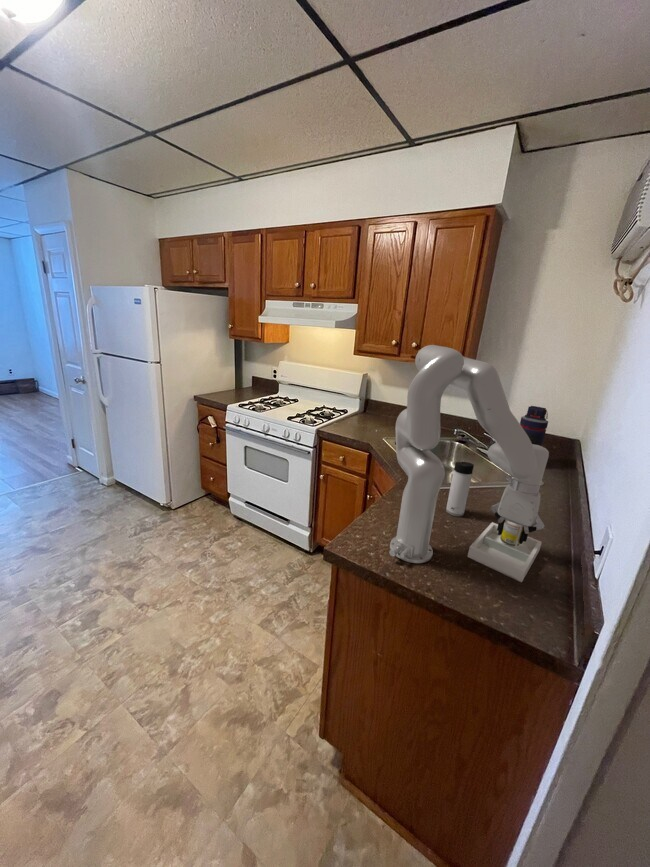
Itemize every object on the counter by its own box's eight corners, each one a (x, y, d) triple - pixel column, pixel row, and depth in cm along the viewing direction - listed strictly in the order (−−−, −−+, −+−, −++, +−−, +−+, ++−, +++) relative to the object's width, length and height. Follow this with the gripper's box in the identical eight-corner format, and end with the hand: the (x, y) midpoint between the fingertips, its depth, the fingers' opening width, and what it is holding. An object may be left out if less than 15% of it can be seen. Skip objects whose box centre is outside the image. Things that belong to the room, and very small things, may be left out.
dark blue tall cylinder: (534, 470, 177) (550, 412, 168) (508, 463, 184) (522, 407, 175) (538, 463, 188) (553, 407, 179) (513, 456, 194) (526, 402, 185)
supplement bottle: (512, 537, 115) (520, 509, 112) (523, 548, 110) (531, 519, 107) (496, 537, 115) (503, 509, 112) (506, 548, 110) (514, 518, 106)
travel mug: (453, 518, 128) (463, 466, 122) (442, 508, 134) (452, 459, 128) (467, 516, 130) (478, 465, 124) (456, 507, 136) (466, 458, 130)
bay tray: (521, 582, 98) (524, 571, 97) (467, 556, 107) (469, 546, 106) (539, 551, 112) (541, 541, 111) (489, 531, 122) (492, 522, 120)
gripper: (490, 479, 109) (478, 530, 115) (555, 500, 98) (538, 555, 104) (498, 472, 114) (486, 522, 120) (560, 492, 104) (544, 545, 109)
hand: (510, 537), depth 112 cm, fingers closed on supplement bottle, 5 cm apart
